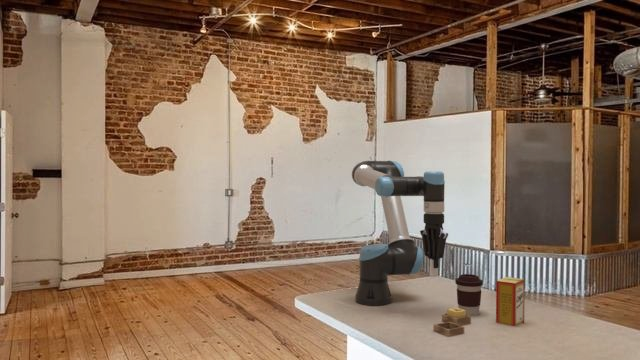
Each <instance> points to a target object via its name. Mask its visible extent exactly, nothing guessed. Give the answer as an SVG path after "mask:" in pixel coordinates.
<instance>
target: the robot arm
mask: <svg viewBox="0 0 640 360" xmlns="http://www.w3.org/2000/svg"><path fill="white" fill-rule="evenodd" d="M351 178H352V180H353V182H354V183H355V184H356V185H358V186H361V187H368V188H370V189H372V190H375V193H376V195H377V196H379V197H380V198H381V203H382V204H381V205H382V207H383V208H382V209H383V213H384V217H385V223H386V228H387V232H388V237H389V242H388V244H386V243H373V244H368V245H365V246H362V247H361V249H359V259H358V260H359V283H358V285H357V290H356V291H355V292H356V293H355V297H354V298H355V299H354V300H355V302H356V303H358V304H361V305H365V306H366V305H367V306H384V305H388V304H389V305H390V304H392V302H393V300H392V299H393V297H392V293H391V289H390V285H389V283H388V282H389V281H388V277H389V276H402V275H403V276H405V275H408V276H410V275H416V274H418V273H419V272H420V271H421V269H422V266H423V262H424V261H423V260H424V256H425V257H427V258H428V267H429V277H430V278H437V277H438V276H439V266H440V265H439V264H440V263H439V261H440V259H443V258H444V254H445V248H446V242H447V239H448V236H449V233H448V232H445V230H444V226H443V224H445V214H444V212H445V184H446V181H445V174H444V172H443V171H424V172H423V175H422V176H420V175H419V176H405V170H404V168H403V166H402V164H401V163H399V162H398V161H397V160H395V161H393V160H364V161H361V162H358V163H357V164H356V165H355V166H354V167H353V169H352V171H351ZM402 197H423V212H424V213H423V223H424V225H425V226H424V229H422V230H420V231H419V232H420V235H421V239H422V246H423V249H422V248H421V247H420V246H419V245H416V244H415V240H414V239H413V238H411V237H410V233H409V229H408V224H407V219H406V215H405V211H404V206H403V202H402Z"/></svg>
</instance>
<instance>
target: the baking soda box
mask: <svg viewBox="0 0 640 360" xmlns="http://www.w3.org/2000/svg"><path fill="white" fill-rule="evenodd" d="M525 282H526V281H525V279H524V278H519V277H511V276H505V277H502V278H500V279H498V280H496V287H495V289H496V290H495V293H496V294H495V296H496V298H495V300H496V302H495V307H496V308H495V323H496V324H501V325H506V326H512V327H516V326H517V325H519V324H525V288H526V287H525Z"/></svg>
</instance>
